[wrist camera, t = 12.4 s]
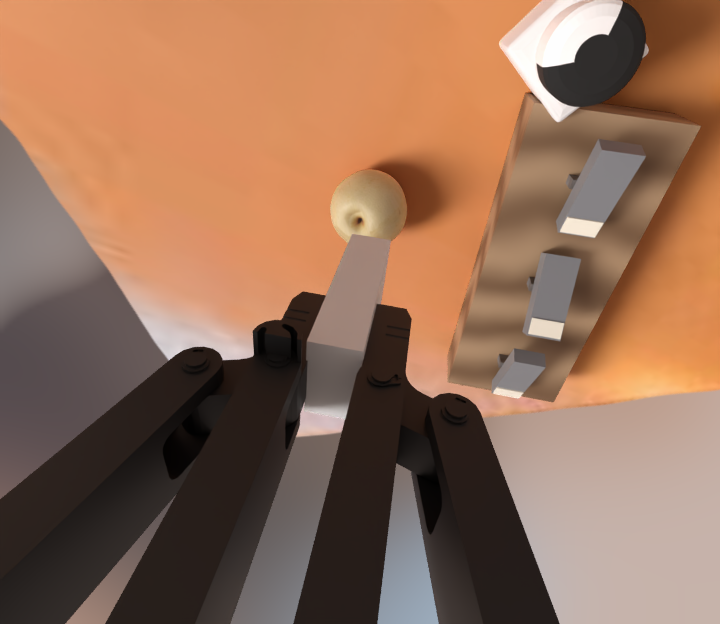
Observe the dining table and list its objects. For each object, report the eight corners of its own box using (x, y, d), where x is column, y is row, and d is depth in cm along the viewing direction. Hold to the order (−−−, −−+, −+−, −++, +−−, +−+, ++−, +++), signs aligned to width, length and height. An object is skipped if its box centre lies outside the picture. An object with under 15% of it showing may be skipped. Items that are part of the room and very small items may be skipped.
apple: (427, 214, 47) (397, 268, 44) (366, 210, 51) (335, 258, 48) (407, 152, 41) (371, 209, 38) (340, 154, 45) (303, 204, 42)
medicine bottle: (620, 44, 36) (682, 59, 27) (542, 107, 40) (572, 141, 30) (574, -32, 34) (624, -46, 24) (496, 42, 38) (513, 55, 28)
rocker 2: (541, 252, 42) (546, 253, 40) (574, 258, 42) (581, 259, 40) (522, 331, 43) (527, 335, 42) (554, 337, 43) (560, 341, 42)
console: (525, 92, 39) (537, 106, 34) (677, 113, 38) (713, 131, 33) (447, 356, 58) (447, 390, 53) (547, 374, 57) (558, 412, 52)
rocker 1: (514, 348, 45) (514, 362, 44) (545, 353, 45) (545, 368, 44) (491, 380, 52) (491, 394, 51) (518, 386, 52) (519, 399, 51)
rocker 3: (598, 138, 33) (602, 150, 32) (641, 145, 33) (646, 157, 32) (556, 221, 39) (557, 233, 38) (591, 226, 39) (594, 239, 38)
